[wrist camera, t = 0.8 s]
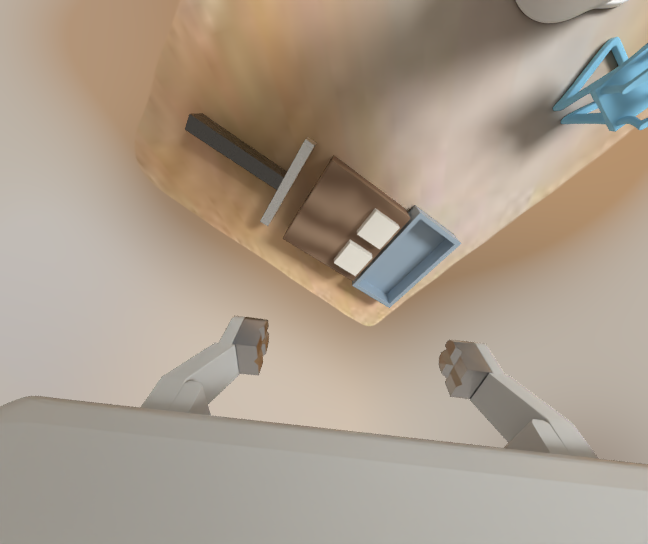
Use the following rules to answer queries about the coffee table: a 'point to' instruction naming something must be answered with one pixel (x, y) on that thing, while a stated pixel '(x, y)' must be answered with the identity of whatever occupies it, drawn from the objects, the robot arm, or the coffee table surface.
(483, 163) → the coffee table surface
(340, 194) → the plate
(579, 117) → the light blue open frame
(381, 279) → the box
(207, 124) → the scraper
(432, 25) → the coffee table surface
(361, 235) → the tile
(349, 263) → the tile
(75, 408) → the robot arm
